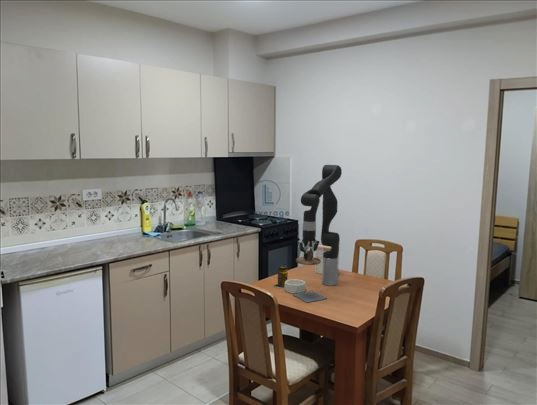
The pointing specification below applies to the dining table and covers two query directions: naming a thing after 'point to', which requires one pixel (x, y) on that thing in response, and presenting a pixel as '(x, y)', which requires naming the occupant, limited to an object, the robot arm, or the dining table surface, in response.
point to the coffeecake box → (319, 255)
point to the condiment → (281, 277)
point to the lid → (308, 259)
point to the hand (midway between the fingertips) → (308, 258)
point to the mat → (309, 296)
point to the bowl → (295, 286)
